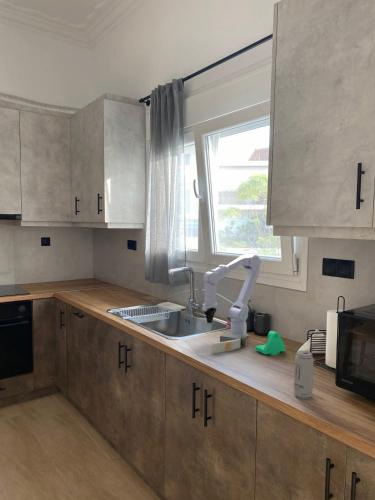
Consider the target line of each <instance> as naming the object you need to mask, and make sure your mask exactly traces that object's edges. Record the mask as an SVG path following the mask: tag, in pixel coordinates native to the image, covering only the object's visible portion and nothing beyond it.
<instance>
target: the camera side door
mask: <svg viewBox="0 0 375 500" xmlns="http://www.w3.org/2000/svg"><path fill="white" fill-rule="evenodd" d="M240 343H241V339H237V340H231V341H225V342H220V341H219V342H214V343H211V353H212V354H217V353H222V352H223V353H224V352H227V351H228V352H229V351H233V350H237V349H238V350H239V349H241V347H240Z"/></svg>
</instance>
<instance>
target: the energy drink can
mask: <svg viewBox="0 0 375 500" xmlns="http://www.w3.org/2000/svg"><path fill="white" fill-rule="evenodd" d="M294 358H295V359H294V379H293V380H294V382H293V383H294V384H293V386H294V387H293V393H294V395H295V397H296V398H298V399H300V400H309V399H311V397H312V396H313V389H314V388H313V387H314V366H315V365H314V364H315V363H314V362H315V359H314V357H313V353H312V352H310V351H308V350H307V351H306V350H300V351H297V352H296V355H295V357H294Z"/></svg>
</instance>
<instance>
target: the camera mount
mask: <svg viewBox="0 0 375 500" xmlns="http://www.w3.org/2000/svg"><path fill="white" fill-rule="evenodd" d="M267 339H268V340H267V342H266V343H265V344H260V345H255V350H256V351H258V352H260V353H261V354H264V355H269V356H270V355H271V356H274V355H280V352H284V351H286V345H285V343H284V341H283V339H282V337H281V334H280V333H279V332H277V331H274V330H270V331H269V332H268V334H267Z"/></svg>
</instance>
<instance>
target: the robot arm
mask: <svg viewBox="0 0 375 500" xmlns="http://www.w3.org/2000/svg"><path fill="white" fill-rule="evenodd" d="M261 264H262V261H261V259H260V257H259V255H254V254H247V253H245V254H242V255H240V256H239V257H237V258H236V259H234V260H233V261H231V262H229V263H228V264H227V265H225V264H219V265H218V267H216V268H214V269H211V271H206V272H205V273H204V275H203V277H202V281H203V283H204V301H203V302H204V303H202V307H201V310H202V311H203V313H204V315H205V318H206V322H207V323H208V324H212V323H213V321H214V317H215V313H216V311H217V307H218V302H217V284H218V283H219V281H220V280H222V279H224V278H225V277H226V276H228V275H229V274H230V272H231V271H233V270H236V269H237V268H239V267H241V266H242V267H243V268H244V269H245V270H246V273H247V275H246V277H245V280H244V282H243V284H242V285H243V286H242V288H241V290H240V293H239V295H238V297H237V300H236V301H234V303H232V306H231V307H230V308H229V309H228V316H229V318H230V333H232V334H238V335H244V338H245V339H246V338H247V337H248V336H249V335H248V334H247V327H248V326H247V322H246V320H247V319H248V317H249V311H250V308H249V306H248V304H249V300H250V299H251V296H252V293H253V291H254V287H255V285H256V282H257V280H258V278H259V275H260V267H261ZM202 311H201V312H202Z"/></svg>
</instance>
